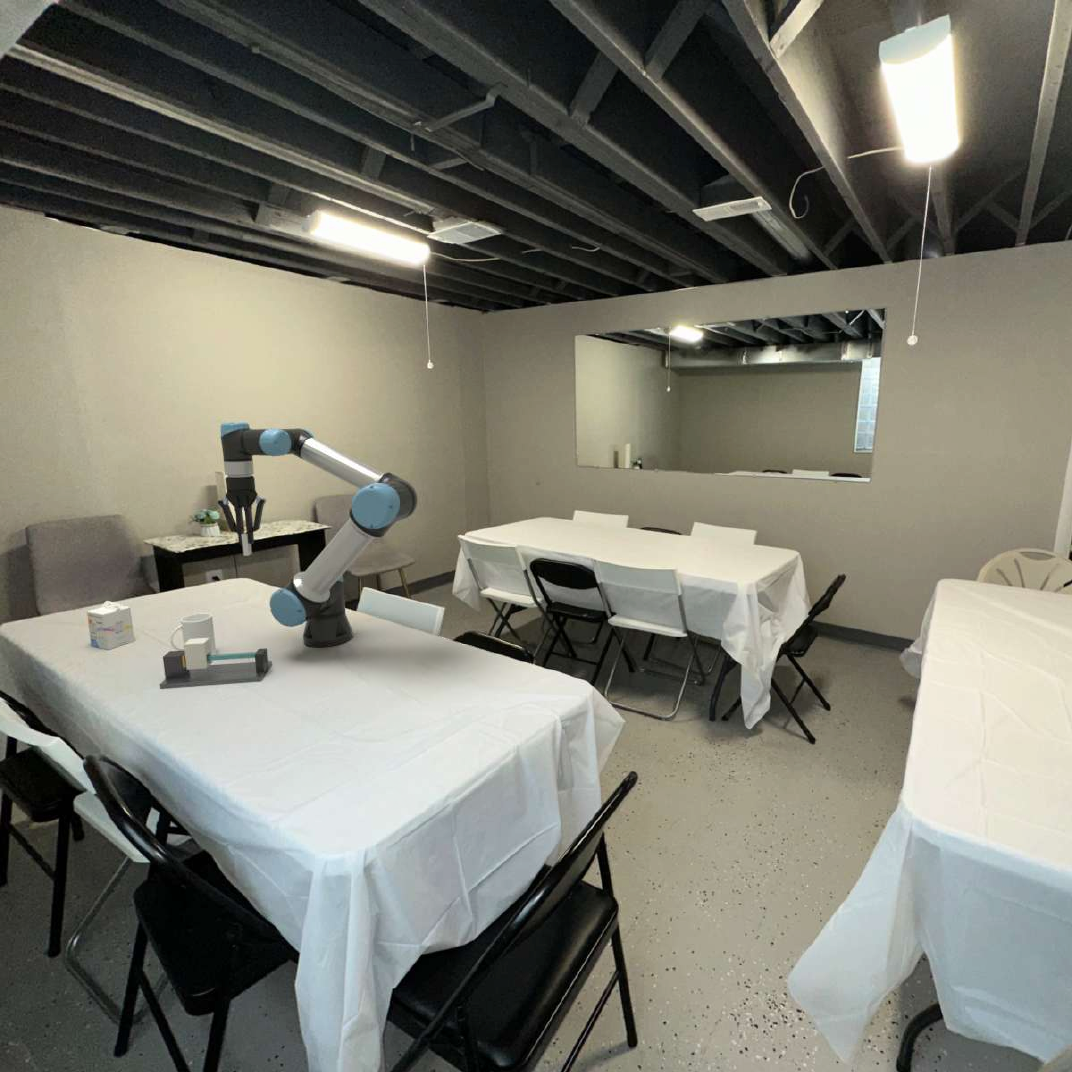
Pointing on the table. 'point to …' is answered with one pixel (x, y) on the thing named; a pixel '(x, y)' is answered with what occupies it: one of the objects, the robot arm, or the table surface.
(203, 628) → the mug
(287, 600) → the robot arm
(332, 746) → the table surface
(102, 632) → the ink box
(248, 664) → the glowing rod on plate
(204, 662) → the sleeve
